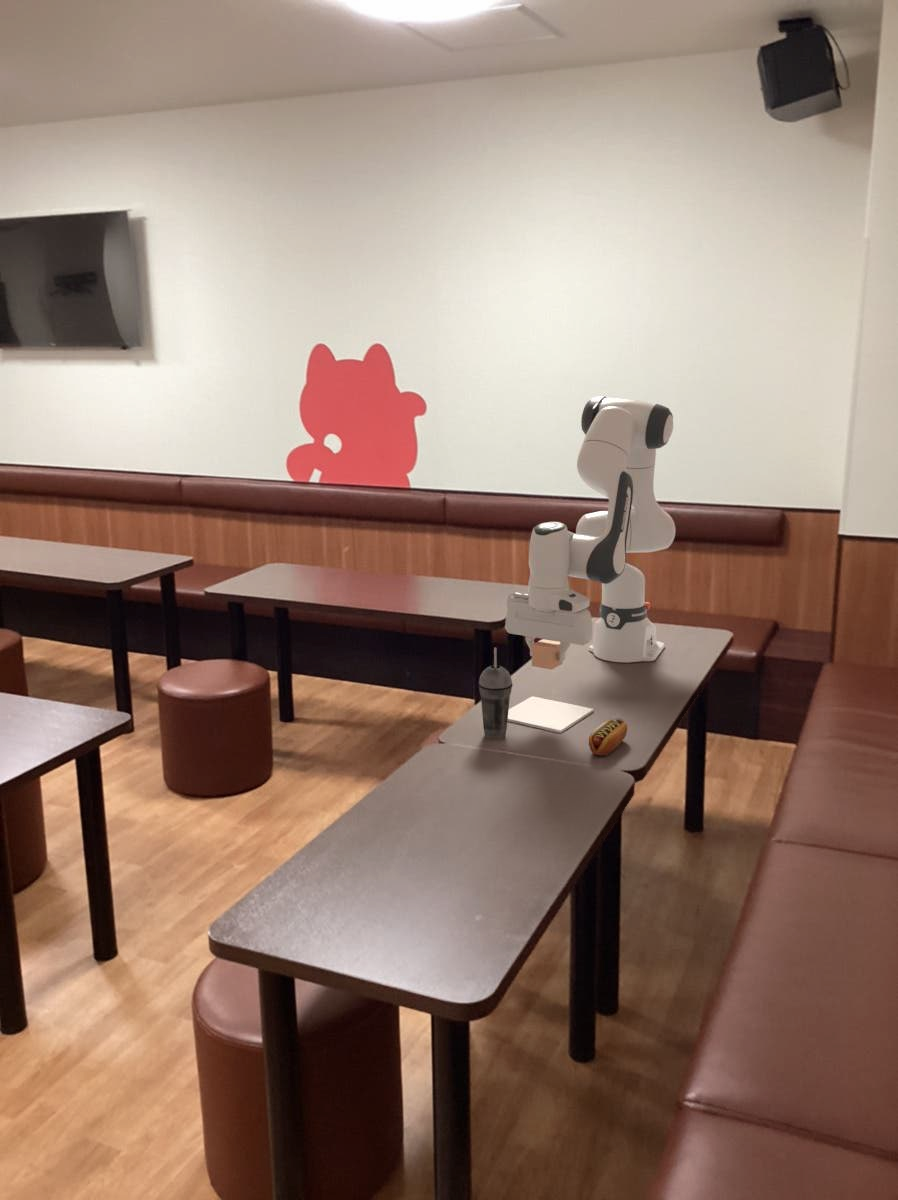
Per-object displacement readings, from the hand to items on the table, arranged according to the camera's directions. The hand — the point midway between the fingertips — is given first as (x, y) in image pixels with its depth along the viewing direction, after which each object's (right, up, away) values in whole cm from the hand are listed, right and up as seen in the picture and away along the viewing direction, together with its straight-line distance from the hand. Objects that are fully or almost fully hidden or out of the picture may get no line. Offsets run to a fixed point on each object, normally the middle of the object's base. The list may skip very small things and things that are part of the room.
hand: (547, 657), depth 232 cm
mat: (0, -13, +3) cm, 14 cm away
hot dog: (+11, -18, -15) cm, 26 cm away
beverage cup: (-12, -16, -9) cm, 22 cm away
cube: (0, -2, 0) cm, 2 cm away
